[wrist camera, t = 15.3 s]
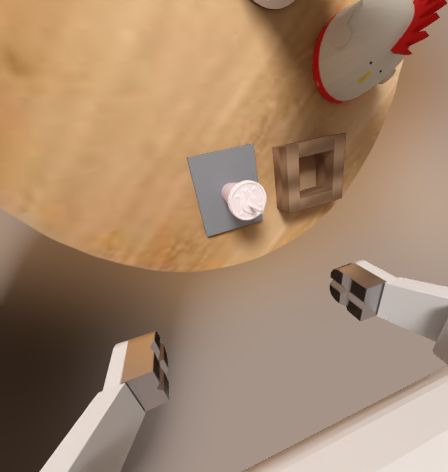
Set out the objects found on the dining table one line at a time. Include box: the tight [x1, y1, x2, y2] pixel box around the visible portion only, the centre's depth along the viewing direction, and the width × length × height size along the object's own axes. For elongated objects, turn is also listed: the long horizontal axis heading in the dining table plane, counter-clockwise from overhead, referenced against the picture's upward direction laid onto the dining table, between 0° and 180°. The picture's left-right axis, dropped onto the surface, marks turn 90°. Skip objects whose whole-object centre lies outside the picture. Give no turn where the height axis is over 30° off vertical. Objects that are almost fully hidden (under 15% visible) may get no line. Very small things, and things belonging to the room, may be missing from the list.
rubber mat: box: [187, 144, 262, 237], centre depth 40 cm, size 16×13×1 cm
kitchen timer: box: [313, 0, 447, 103], centre depth 31 cm, size 14×14×15 cm
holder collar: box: [273, 133, 346, 213], centre depth 42 cm, size 13×13×5 cm
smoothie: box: [221, 180, 266, 220], centre depth 34 cm, size 6×6×14 cm
